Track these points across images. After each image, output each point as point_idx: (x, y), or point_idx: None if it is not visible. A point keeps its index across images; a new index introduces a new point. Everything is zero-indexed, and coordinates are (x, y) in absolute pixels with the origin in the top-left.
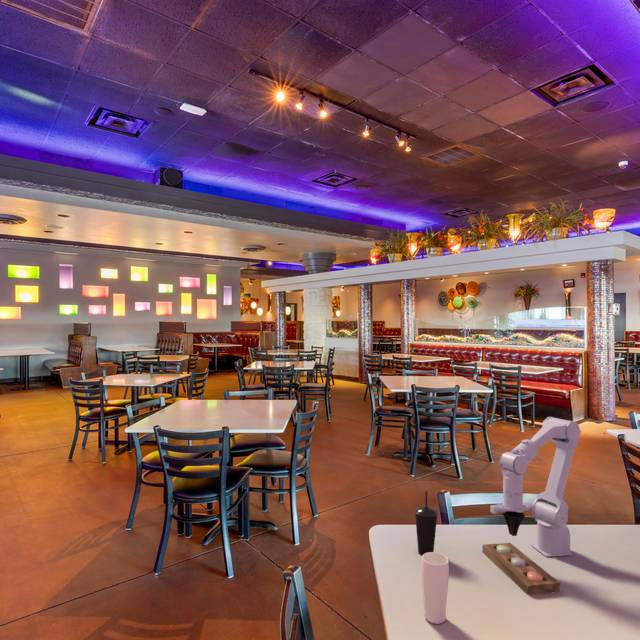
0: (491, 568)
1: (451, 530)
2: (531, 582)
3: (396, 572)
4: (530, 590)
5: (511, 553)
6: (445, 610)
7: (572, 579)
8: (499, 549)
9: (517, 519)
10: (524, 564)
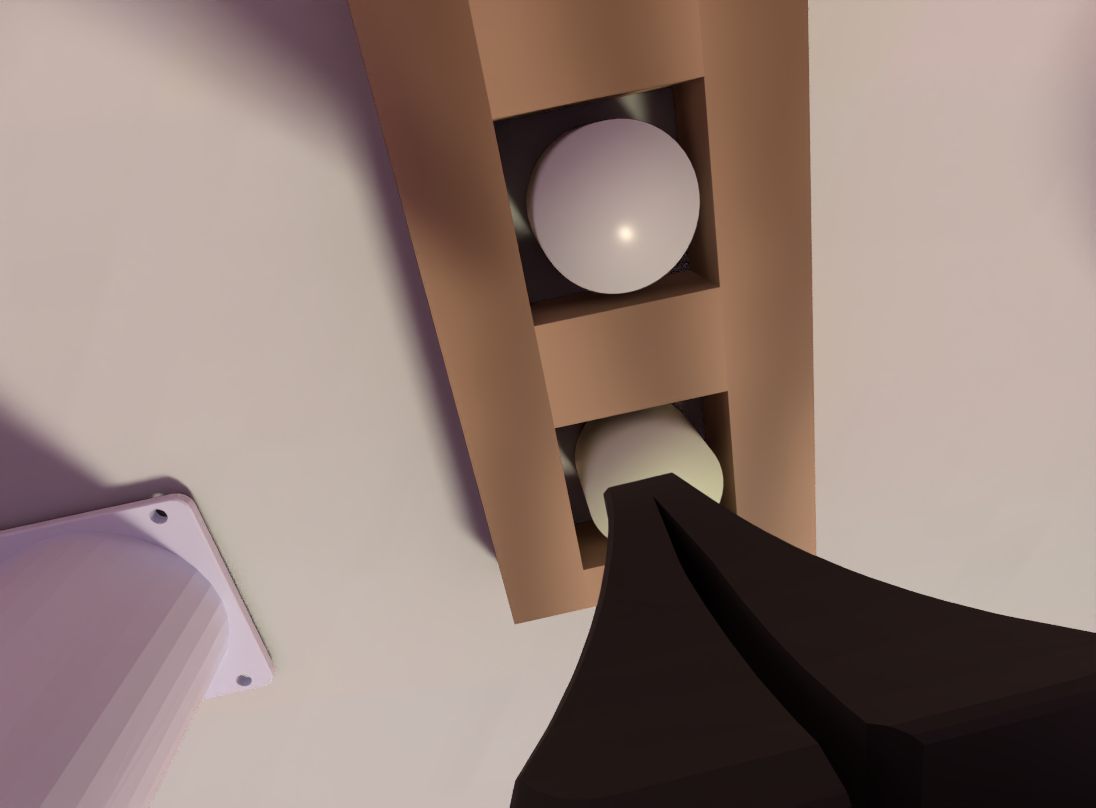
0: (849, 228)
1: None
2: None
3: None
4: None
5: (600, 411)
6: None
7: (5, 23)
8: (714, 458)
9: (759, 683)
10: (566, 139)
